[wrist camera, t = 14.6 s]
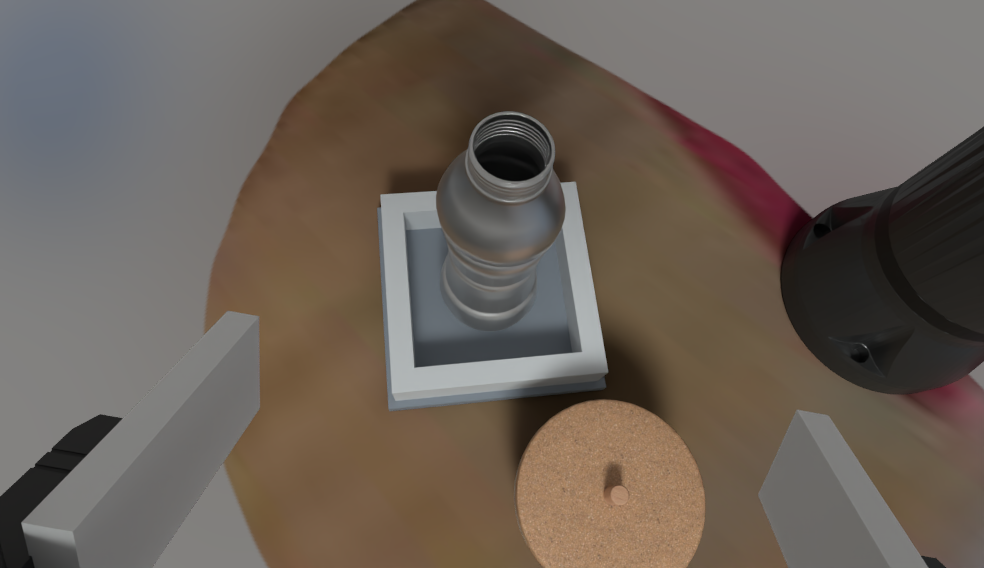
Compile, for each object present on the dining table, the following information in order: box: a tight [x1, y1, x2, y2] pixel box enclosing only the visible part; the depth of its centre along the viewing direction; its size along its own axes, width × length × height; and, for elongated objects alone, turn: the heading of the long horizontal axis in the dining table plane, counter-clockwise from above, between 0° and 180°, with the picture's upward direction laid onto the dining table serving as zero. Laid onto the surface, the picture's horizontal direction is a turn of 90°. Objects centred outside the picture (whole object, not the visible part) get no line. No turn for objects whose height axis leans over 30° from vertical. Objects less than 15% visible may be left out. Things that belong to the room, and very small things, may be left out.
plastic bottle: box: [436, 111, 566, 331], centre depth 36 cm, size 6×7×20 cm
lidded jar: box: [514, 399, 706, 568], centre depth 38 cm, size 11×11×9 cm
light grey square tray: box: [377, 182, 608, 411], centre depth 45 cm, size 15×15×4 cm
